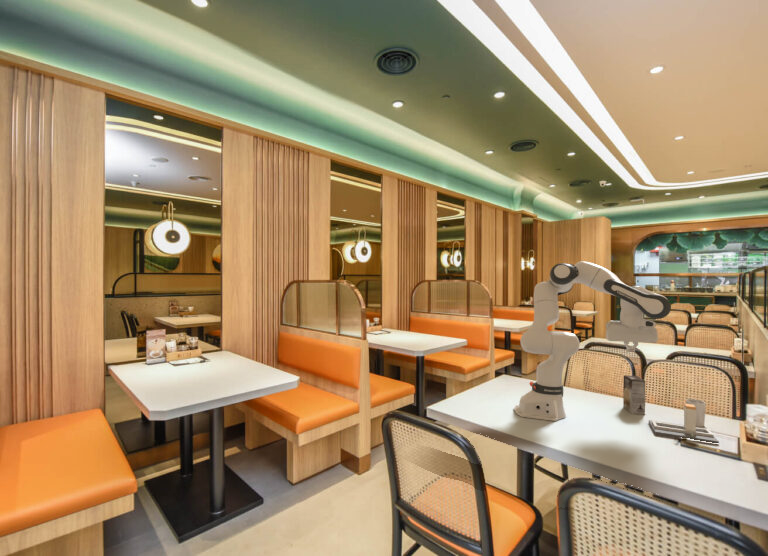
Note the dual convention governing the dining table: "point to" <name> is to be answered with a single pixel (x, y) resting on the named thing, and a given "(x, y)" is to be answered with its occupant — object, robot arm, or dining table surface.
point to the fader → (689, 417)
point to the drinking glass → (698, 410)
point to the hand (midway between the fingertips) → (630, 351)
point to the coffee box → (634, 394)
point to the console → (681, 431)
